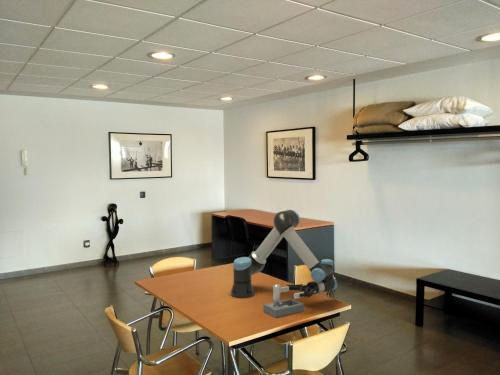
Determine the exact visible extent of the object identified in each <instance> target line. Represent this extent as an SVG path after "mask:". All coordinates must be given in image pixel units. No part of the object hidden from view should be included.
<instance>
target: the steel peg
mask: <svg viewBox="0 0 500 375" xmlns="http://www.w3.org/2000/svg"><path fill="white" fill-rule="evenodd" d="M280 288H281V284H280V283H274V284H272V303H273V305H275V307H278V305H280V301H281V293H280Z"/></svg>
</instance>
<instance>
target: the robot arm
mask: <svg viewBox="0 0 500 375" xmlns="http://www.w3.org/2000/svg"><path fill="white" fill-rule="evenodd" d="M300 220H301V219H300V215H299V213H298V212H297V211H295V210H293V209H286V210H282V211H278V212H276V214H275V215H274V217H273V225H274V227H273V228H272V229H271V231H270V232H269V233H268V234H267V236H266V237H265V238H264V240H263V241H262V242H261V244H260V245H259V246H258V248H257V249H256V250H255V251H254V250H253V251H252V252H251V253H250V254H249V255H248V256H241V257H237V258H235V259H234V261H233V266H232V267H233V272H232V273H233V284H232V286H231V287H232V288H231V290H230V296H232V297H234V298H238V299H239V298H240V299H244V298H245V299H247V298H251V297H253V296H254V295H255V290H254V287H253V284H252V276H254V275H255V274H258V273H260V272H262V271H263V270H264V268H265V264H266V263H267V258H268V257H269V256H270V255H271V253H272V252H273V251H274V249H275V248H276V247H277V245H279V243H280V242H281V241H282V239H283V238H284V239H285V240H286V241H287V243H288V244H289V245H290V247H291V248H292V250H294V252H295V254H296V255H297V256H298V257H299V258H300V260H301V261H302V262H303V264H304V266H306V268H308V270H309V271H310V272H309V273H310V277H311V279H312V281H309V282H307V284H304V285H303V284H302V283H299V284H286V286H282V287H281V286H280V294H282V293H285V292H289V291H299V292H296V293H293V300H296V299H300V298H311V297H312V296H314V295H317V294H318V295H319V294H322V293H327V292H331V291H332V292H333V291H335V290H336V289H337V288H338V281H337V280H336V278H334V266H335V265H334V260H333V259H330V258H325V259H321V261H319V260H318V258H316V256H315V255H314V254H313V252H312V251H311V250H310V248H309V247H308V246H307V245H306V243H305V242H304V240H303V239H302V238H301V237H300V235H299V234H298V233H297V232H296V231H295V228H296V227H298V225H299V224H300Z"/></svg>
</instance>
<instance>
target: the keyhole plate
mask: <svg viewBox="0 0 500 375" xmlns="http://www.w3.org/2000/svg"><path fill="white" fill-rule="evenodd" d="M262 309H263V310H262V311H263V312H264V313H266V314H267V315H270V316H272V317H273V318H277V319H278V318H280V317H285V316H289V315H293V314H298V313H301V312H305V303H302V302H301V301H298V300H296V299H294V298H287V299H282V300H280V305H278V307H275V305H273V302H268V303H263V308H262Z"/></svg>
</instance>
